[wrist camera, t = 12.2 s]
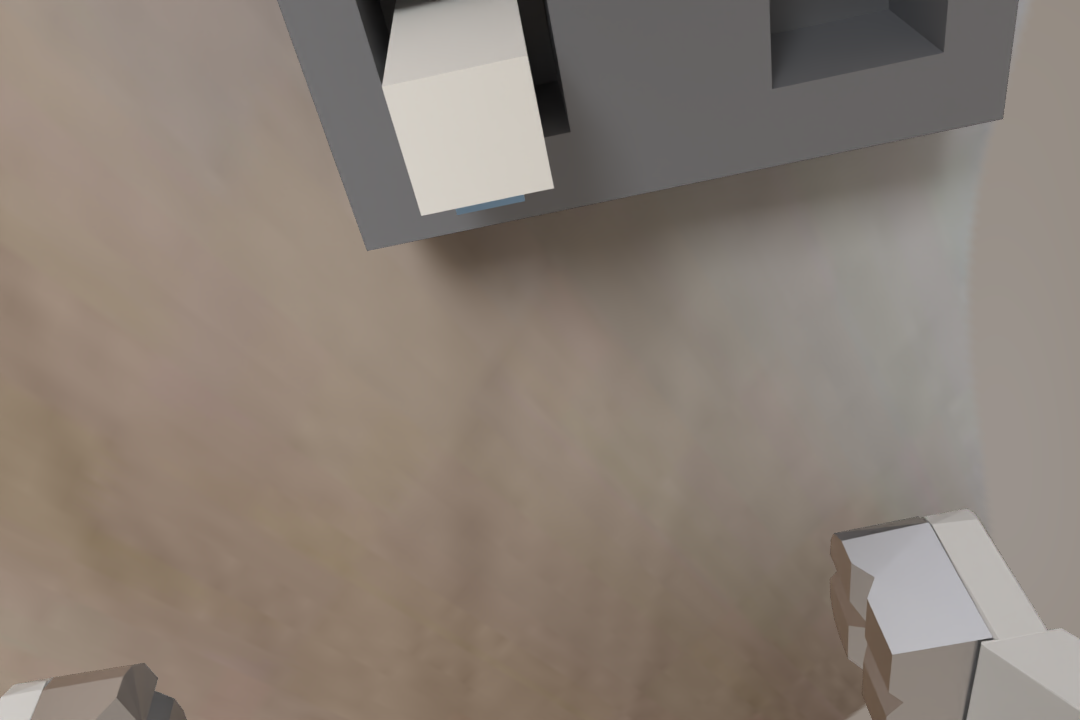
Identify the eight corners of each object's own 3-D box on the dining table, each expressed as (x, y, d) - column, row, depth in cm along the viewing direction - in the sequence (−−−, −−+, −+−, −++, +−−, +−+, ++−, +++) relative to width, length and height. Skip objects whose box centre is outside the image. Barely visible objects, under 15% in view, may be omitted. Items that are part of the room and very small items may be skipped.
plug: (399, -22, 28) (382, 87, 21) (507, -46, 28) (527, 55, 21) (432, 99, 30) (426, 233, 23) (532, 77, 30) (557, 205, 23)
